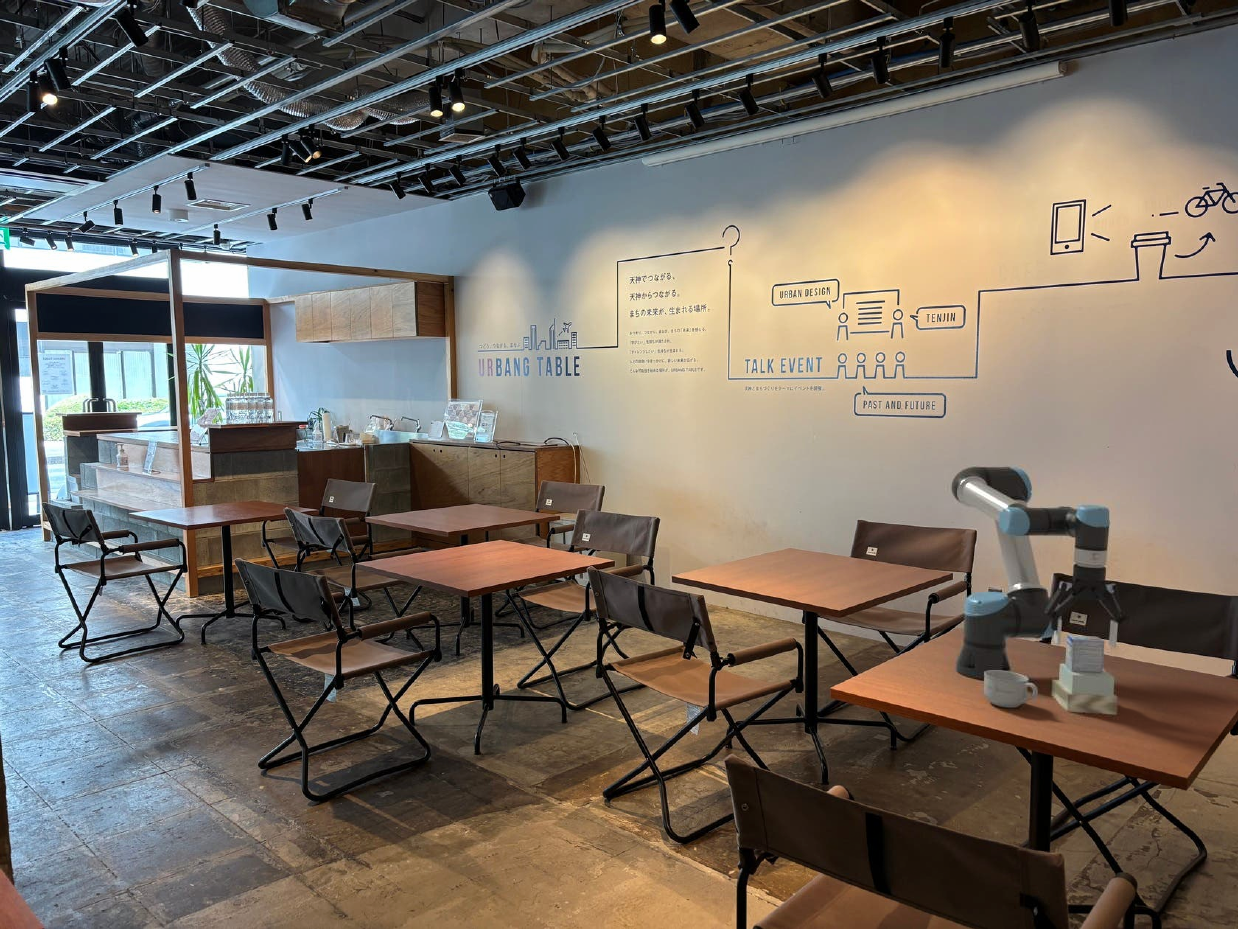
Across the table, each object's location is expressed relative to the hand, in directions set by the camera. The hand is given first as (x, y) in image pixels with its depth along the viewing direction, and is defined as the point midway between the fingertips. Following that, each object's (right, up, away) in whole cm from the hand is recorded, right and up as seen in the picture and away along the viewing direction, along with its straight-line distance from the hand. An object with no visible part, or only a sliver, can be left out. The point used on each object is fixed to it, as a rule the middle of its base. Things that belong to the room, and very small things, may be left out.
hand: (1084, 644), depth 229 cm
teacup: (-20, -17, 0) cm, 26 cm away
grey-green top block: (+1, -12, +1) cm, 12 cm away
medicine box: (0, -7, +1) cm, 7 cm away
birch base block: (+1, -17, +2) cm, 17 cm away
